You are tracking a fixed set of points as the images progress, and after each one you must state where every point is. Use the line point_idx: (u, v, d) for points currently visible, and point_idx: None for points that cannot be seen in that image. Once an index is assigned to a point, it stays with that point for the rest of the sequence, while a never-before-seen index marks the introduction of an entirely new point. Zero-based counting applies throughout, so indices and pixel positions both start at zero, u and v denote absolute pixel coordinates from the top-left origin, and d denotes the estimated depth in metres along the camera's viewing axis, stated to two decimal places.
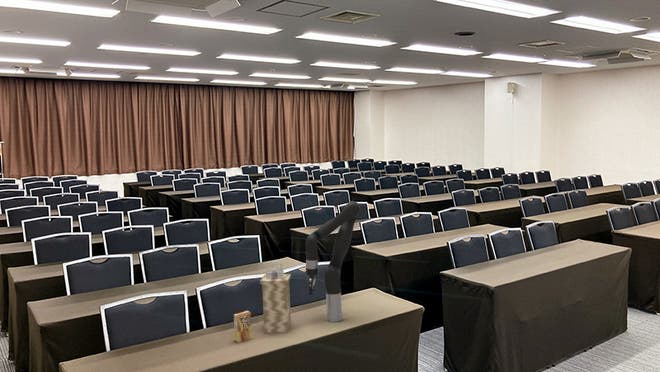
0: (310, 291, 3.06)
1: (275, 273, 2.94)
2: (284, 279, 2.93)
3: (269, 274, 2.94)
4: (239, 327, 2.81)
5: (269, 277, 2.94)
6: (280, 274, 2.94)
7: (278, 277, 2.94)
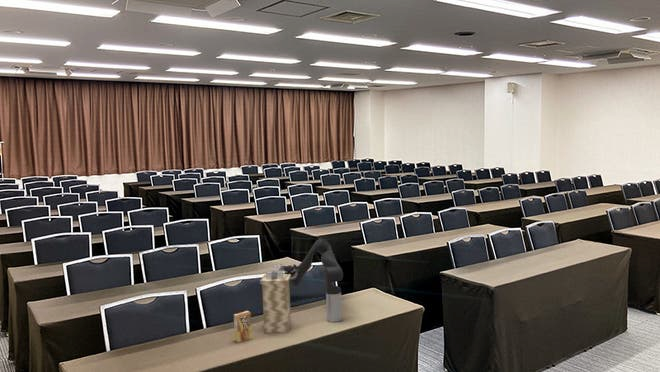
0: None
1: (275, 273, 2.94)
2: (284, 279, 2.93)
3: (269, 274, 2.94)
4: (239, 327, 2.81)
5: (269, 277, 2.94)
6: (280, 274, 2.94)
7: (278, 277, 2.94)
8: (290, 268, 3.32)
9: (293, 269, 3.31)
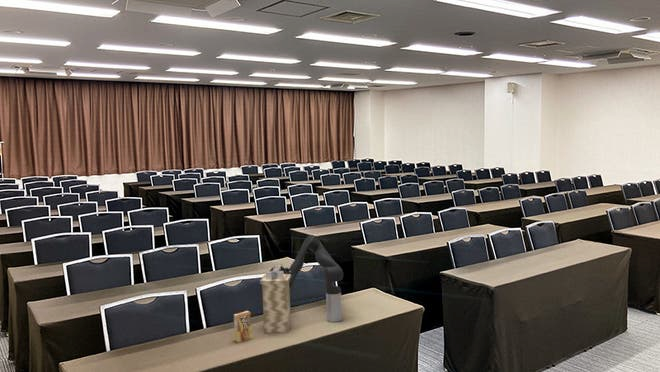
0: None
1: (275, 273, 2.94)
2: (284, 279, 2.93)
3: (269, 274, 2.94)
4: (239, 327, 2.81)
5: (269, 277, 2.94)
6: (280, 274, 2.94)
7: (278, 277, 2.94)
8: None
9: None
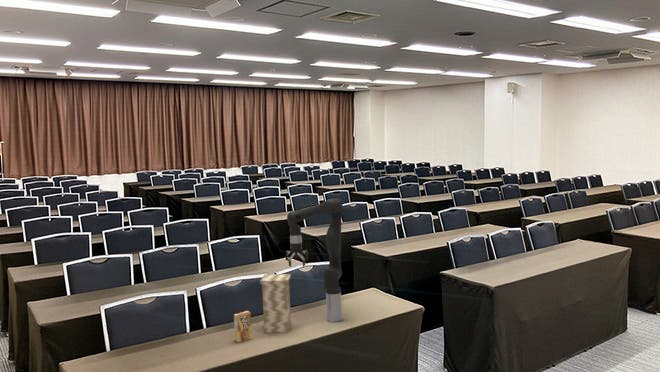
0: None
1: None
2: (284, 279, 2.93)
3: None
4: (239, 327, 2.81)
5: None
6: None
7: None
8: None
9: None
